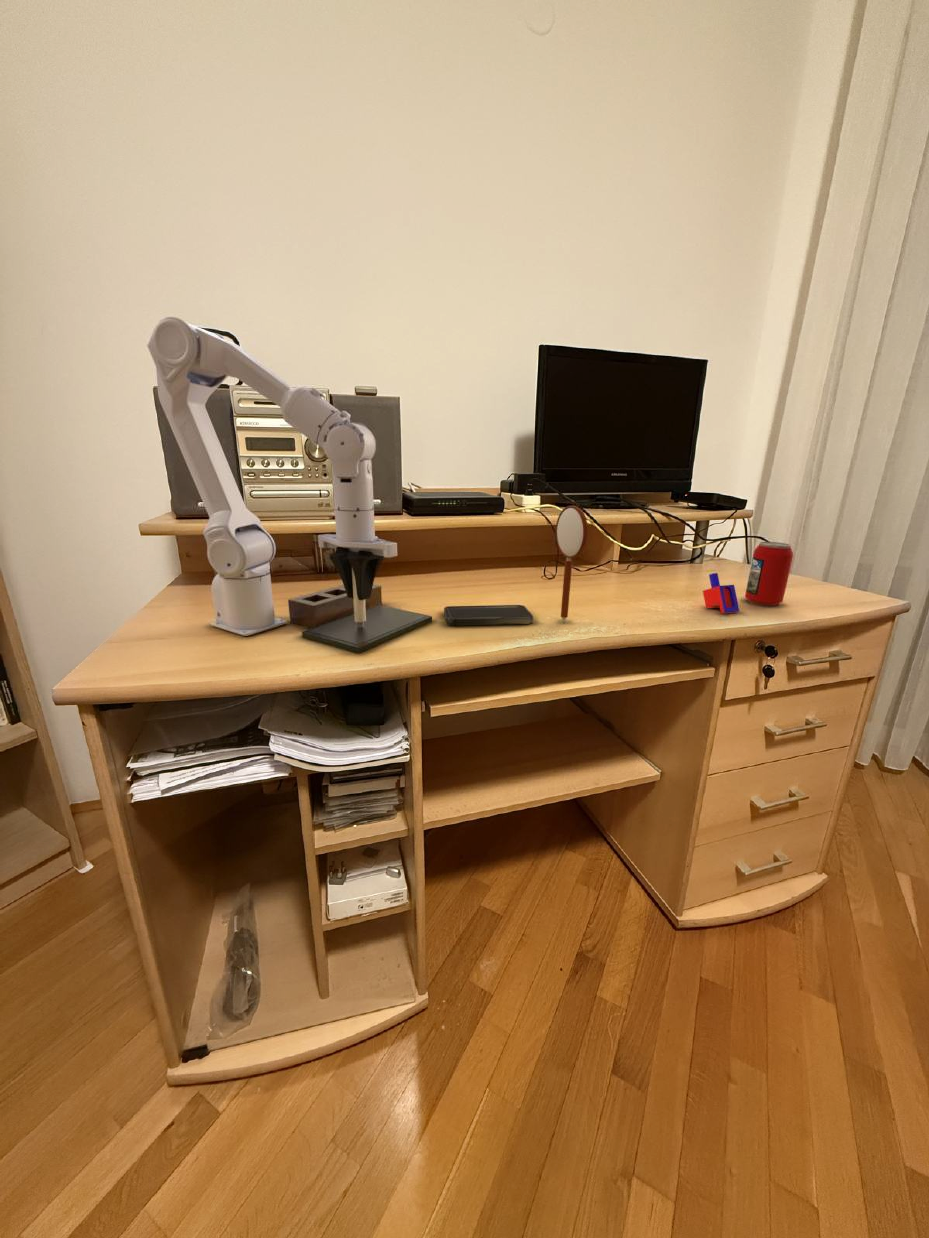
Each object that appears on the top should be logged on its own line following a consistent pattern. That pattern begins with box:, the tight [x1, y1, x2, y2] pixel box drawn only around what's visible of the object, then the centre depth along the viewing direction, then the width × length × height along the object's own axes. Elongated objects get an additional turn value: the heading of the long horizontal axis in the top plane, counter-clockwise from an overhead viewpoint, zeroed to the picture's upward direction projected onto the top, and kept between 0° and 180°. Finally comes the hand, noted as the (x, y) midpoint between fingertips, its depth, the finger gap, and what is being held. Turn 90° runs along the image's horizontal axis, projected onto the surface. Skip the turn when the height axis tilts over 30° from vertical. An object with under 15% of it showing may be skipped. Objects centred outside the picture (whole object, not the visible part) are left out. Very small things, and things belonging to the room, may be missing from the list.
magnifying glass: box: [555, 505, 589, 623], centre depth 83 cm, size 9×2×20 cm, turn 21°
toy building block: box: [702, 572, 740, 615], centre depth 94 cm, size 4×4×8 cm
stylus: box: [352, 569, 366, 628], centre depth 77 cm, size 2×2×11 cm
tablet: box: [301, 604, 433, 655], centre depth 80 cm, size 12×18×1 cm, turn 148°
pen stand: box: [287, 583, 383, 629], centre depth 88 cm, size 6×16×4 cm, turn 148°
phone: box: [443, 604, 534, 626], centre depth 87 cm, size 8×1×15 cm
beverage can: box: [744, 541, 794, 607], centre depth 98 cm, size 7×7×12 cm
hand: (359, 597), depth 77 cm, fingers closed on stylus, 2 cm apart
